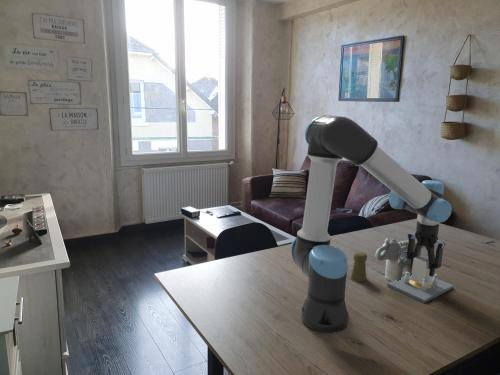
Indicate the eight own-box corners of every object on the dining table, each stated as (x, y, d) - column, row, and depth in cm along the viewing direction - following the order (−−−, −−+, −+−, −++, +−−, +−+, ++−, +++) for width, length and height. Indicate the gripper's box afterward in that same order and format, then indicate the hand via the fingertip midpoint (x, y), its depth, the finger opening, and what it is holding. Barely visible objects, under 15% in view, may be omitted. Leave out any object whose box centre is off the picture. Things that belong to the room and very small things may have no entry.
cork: (349, 279, 148) (351, 254, 146) (352, 273, 153) (354, 248, 151) (364, 283, 145) (367, 257, 143) (367, 277, 151) (369, 251, 148)
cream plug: (423, 285, 139) (426, 262, 137) (411, 280, 143) (413, 257, 141) (430, 281, 142) (433, 258, 140) (418, 276, 146) (421, 254, 144)
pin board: (424, 303, 131) (425, 288, 130) (387, 286, 143) (388, 272, 142) (452, 288, 143) (454, 274, 141) (416, 273, 155) (418, 260, 153)
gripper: (458, 227, 132) (449, 287, 137) (411, 214, 146) (405, 269, 152) (447, 230, 128) (438, 292, 133) (400, 217, 142) (394, 273, 147)
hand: (420, 280), depth 142 cm, fingers closed on cream plug, 5 cm apart
